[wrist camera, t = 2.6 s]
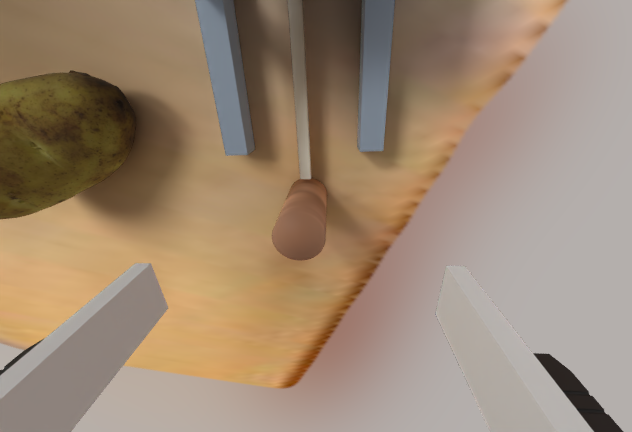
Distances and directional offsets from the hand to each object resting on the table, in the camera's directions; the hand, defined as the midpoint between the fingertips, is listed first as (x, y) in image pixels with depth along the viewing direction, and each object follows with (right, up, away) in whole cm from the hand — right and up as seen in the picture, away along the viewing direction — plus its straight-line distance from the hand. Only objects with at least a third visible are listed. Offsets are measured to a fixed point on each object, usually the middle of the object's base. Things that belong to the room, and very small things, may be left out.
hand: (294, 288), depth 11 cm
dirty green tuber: (-18, +9, +9) cm, 22 cm away
